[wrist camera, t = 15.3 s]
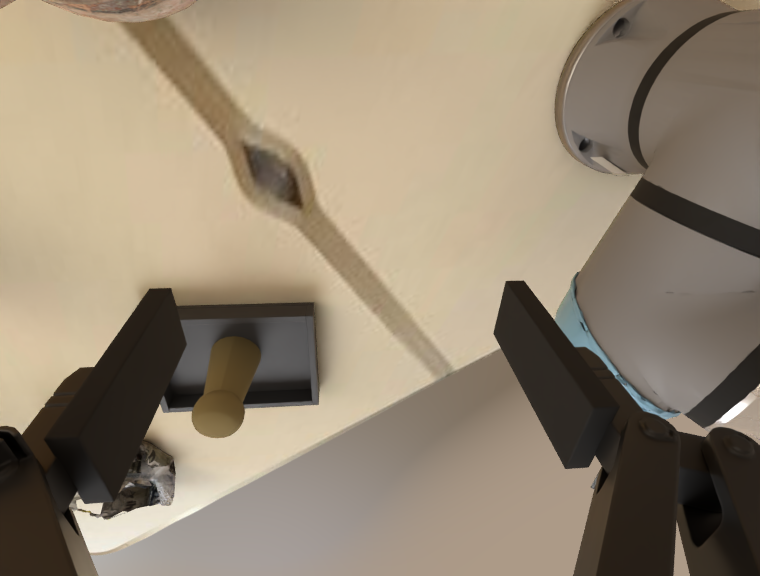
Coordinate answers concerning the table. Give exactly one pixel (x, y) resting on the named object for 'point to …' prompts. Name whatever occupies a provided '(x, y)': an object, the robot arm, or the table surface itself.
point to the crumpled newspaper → (141, 483)
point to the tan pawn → (226, 387)
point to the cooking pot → (119, 8)
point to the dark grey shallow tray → (276, 344)
